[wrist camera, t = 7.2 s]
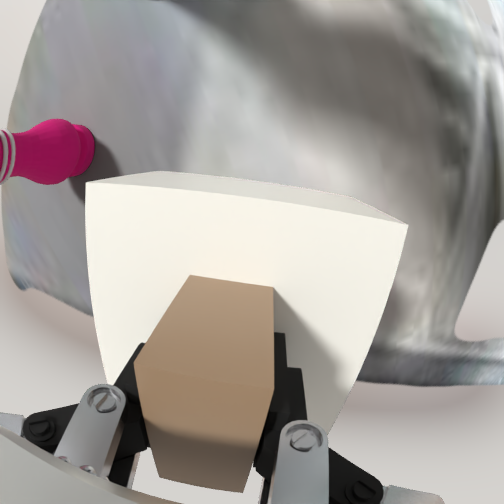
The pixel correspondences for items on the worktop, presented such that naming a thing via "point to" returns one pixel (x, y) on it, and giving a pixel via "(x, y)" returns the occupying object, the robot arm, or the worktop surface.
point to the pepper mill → (46, 152)
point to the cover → (232, 305)
